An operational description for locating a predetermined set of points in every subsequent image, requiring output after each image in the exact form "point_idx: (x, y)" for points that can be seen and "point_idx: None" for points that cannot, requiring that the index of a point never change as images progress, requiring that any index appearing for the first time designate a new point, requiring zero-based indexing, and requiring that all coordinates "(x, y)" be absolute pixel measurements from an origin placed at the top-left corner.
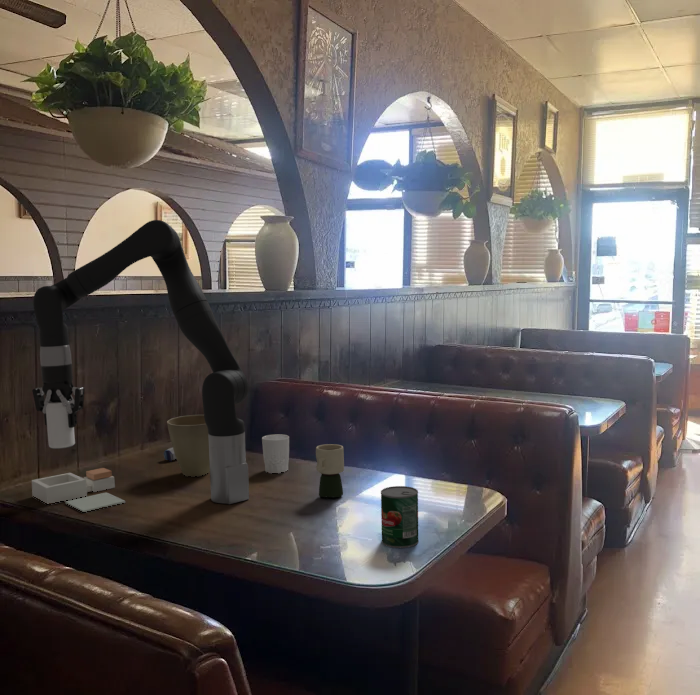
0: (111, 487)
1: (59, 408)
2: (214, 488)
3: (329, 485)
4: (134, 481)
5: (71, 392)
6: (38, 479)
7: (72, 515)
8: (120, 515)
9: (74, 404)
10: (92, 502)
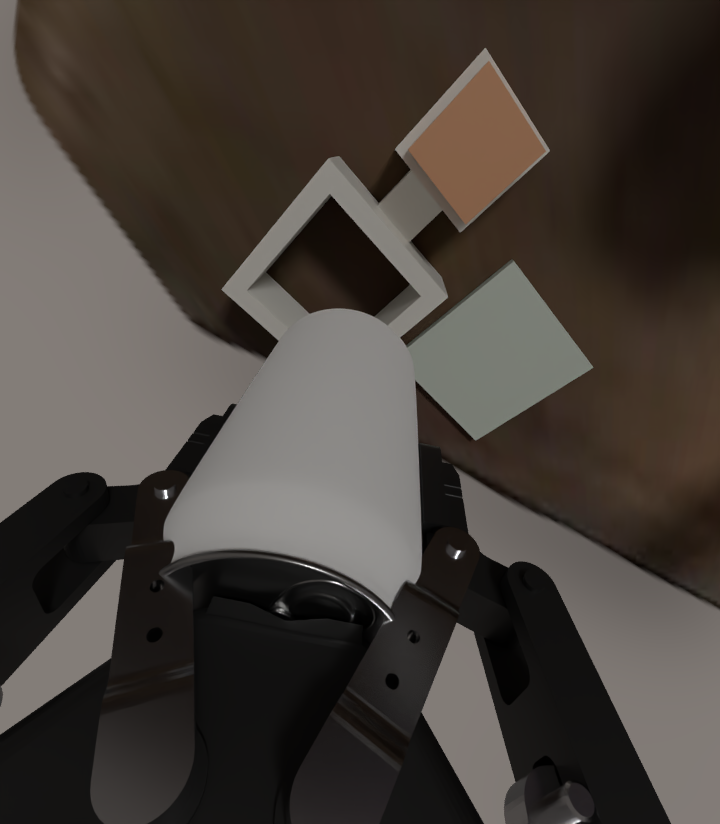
0: None
1: None
2: None
3: None
4: (630, 12)
5: (456, 803)
6: (243, 280)
7: (449, 447)
8: (579, 458)
9: (489, 676)
10: (485, 375)
